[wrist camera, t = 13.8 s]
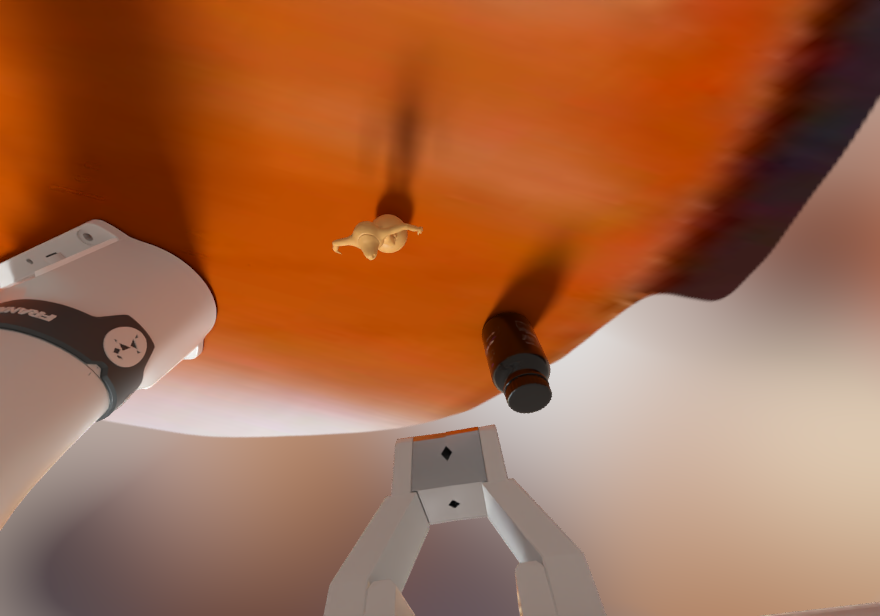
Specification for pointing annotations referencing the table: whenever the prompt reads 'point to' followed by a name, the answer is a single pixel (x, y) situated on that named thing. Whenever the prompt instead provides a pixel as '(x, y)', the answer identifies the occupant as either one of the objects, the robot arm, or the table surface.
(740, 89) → the table surface
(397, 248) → the figurine
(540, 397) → the supplement bottle
